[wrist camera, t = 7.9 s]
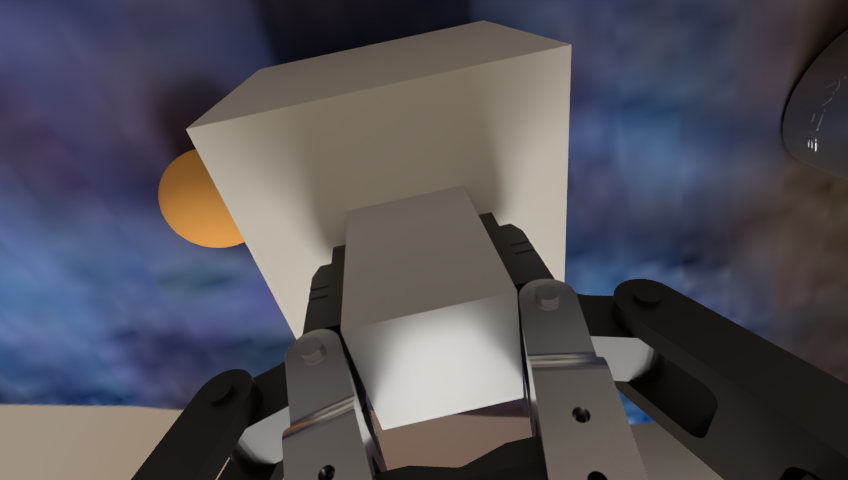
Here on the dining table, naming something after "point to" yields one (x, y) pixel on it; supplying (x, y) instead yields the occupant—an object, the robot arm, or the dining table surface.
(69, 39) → the dining table surface
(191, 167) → the ball
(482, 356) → the cream open-backed crate
